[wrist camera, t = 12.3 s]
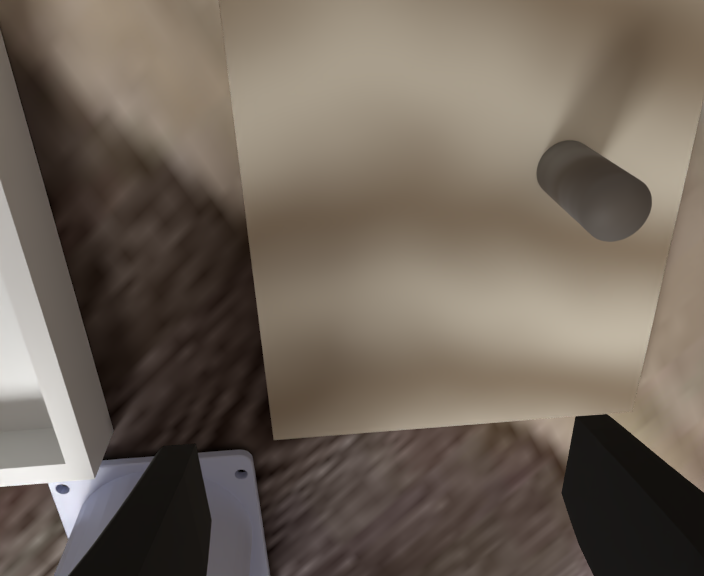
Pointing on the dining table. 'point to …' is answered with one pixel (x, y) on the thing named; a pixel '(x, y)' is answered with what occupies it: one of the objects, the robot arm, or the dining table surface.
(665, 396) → the dining table surface
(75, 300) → the tray
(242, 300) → the dining table surface
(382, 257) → the board
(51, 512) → the dining table surface
